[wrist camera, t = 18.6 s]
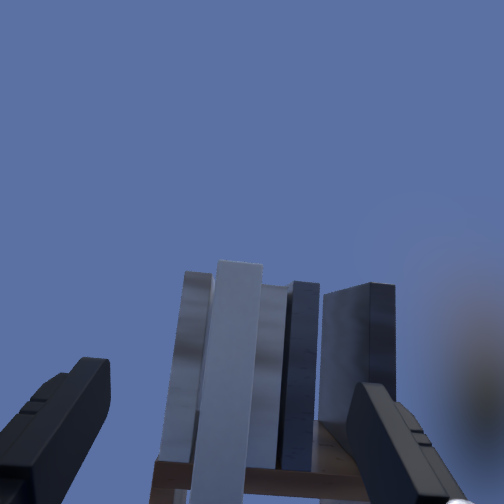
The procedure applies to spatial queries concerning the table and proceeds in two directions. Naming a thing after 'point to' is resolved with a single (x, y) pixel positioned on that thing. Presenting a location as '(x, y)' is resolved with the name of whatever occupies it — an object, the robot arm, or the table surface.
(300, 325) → the book stand
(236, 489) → the white book
